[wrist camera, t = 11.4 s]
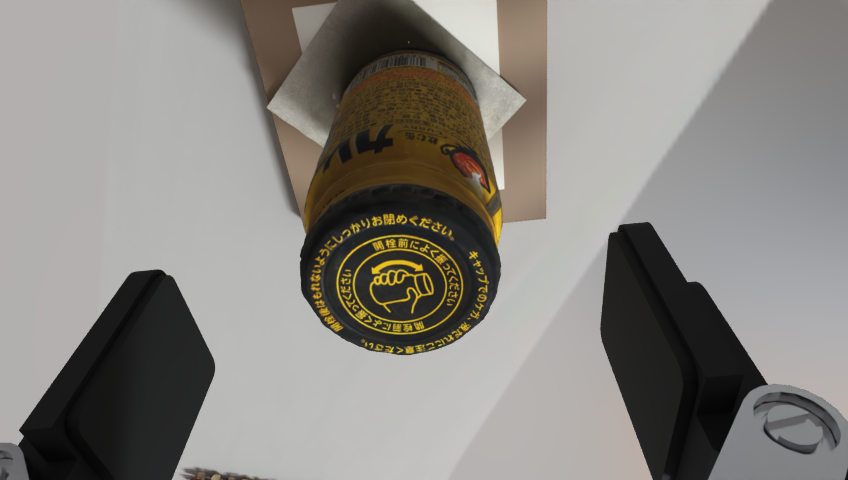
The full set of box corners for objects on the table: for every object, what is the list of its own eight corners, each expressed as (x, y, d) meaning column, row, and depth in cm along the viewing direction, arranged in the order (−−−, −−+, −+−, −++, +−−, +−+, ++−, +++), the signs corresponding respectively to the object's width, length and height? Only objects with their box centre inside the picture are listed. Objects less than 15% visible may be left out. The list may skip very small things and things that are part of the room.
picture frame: (239, -46, 22) (226, -42, 20) (540, -88, 21) (548, -85, 20) (313, 227, 29) (307, 244, 28) (540, 203, 28) (546, 220, 27)
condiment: (420, 212, 27) (418, 413, 16) (267, 106, 24) (152, 272, 14) (526, 98, 23) (603, 261, 13) (365, -41, 20) (310, 35, 10)
